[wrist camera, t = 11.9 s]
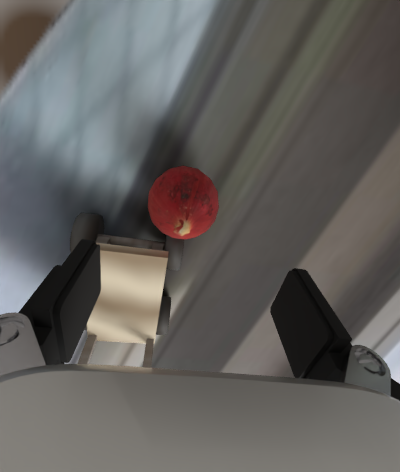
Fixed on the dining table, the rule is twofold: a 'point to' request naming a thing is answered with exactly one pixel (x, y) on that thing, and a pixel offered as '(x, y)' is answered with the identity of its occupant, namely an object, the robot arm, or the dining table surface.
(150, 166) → the dining table surface
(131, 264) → the trolley
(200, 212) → the onion
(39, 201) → the dining table surface
